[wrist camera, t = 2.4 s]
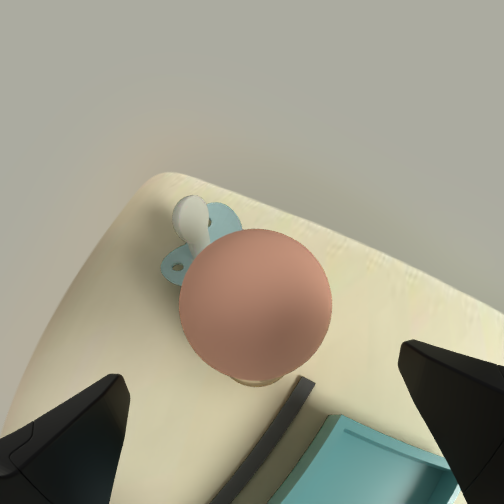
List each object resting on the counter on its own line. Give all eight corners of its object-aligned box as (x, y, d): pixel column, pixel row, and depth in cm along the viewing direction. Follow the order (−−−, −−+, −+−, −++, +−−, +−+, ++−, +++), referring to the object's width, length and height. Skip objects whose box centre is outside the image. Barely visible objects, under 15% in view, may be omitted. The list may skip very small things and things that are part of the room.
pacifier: (269, 239, 23) (204, 214, 25) (275, 184, 18) (194, 159, 19) (228, 318, 20) (158, 284, 21) (220, 279, 15) (130, 239, 16)
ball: (275, 410, 12) (289, 408, 7) (172, 342, 14) (123, 293, 8) (336, 308, 14) (376, 244, 9) (239, 255, 16) (231, 175, 11)
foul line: (196, 538, 11) (196, 539, 11) (183, 531, 11) (183, 532, 11) (315, 383, 17) (315, 383, 17) (302, 376, 17) (302, 376, 17)
